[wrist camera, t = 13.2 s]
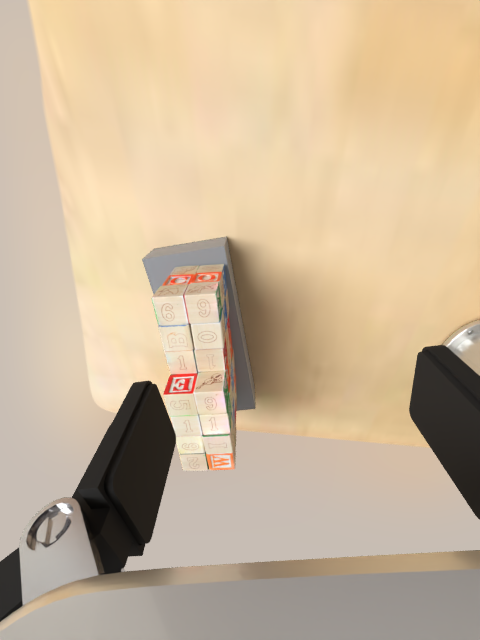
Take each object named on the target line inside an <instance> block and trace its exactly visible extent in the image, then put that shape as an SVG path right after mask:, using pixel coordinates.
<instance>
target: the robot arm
mask: <svg viewBox="0 0 480 640" xmlns="http://www.w3.org/2000/svg"><path fill="white" fill-rule="evenodd" d="M409 411H410V416H411V418H412V420H413V421H414V423H415V424H416V426H417V427H418V429H419V431H420V432H421V434H422V435H423V437H424V438H425V440H426V441H427V443H428V444H429V446H430V447H431V449H432V450H433V452H434V453H435V455H436V456H437V458H438V459H439V461H440V462H441V464H442V465H443V467H444V468H445V470H446V471H447V473H448V474H449V476H450V477H451V479H452V480H453V482H454V483H455V485H456V487H457V488H458V489H459V491H460V492H461V494H462V496H463V497H464V498H465V500H466V501H467V503H468V505H469V506H470V508H471V509H472V511H473V512H474V514H475V515H476V516H477V517H478V519H480V320H476V321H474V322H471V323H469V324H466V325H465V326H463V327H461V328H460V329H458V330H457V331H455V332H454V333H453V334H452V335H451V336H450V337H449V338H448V339H447V340H446V341H445V342H444V343H443V345H438V346H430V347H425V348H423V350H422V352H419V353H418V355H417V362H416V368H415V375H414V381H413V388H412V395H411V401H410V408H409ZM175 444H176V434H175V431H174V428H173V426H172V423H171V421H170V418H169V415H168V413H167V410H166V408H165V405H164V403H163V400H162V398H161V395H160V393H159V390H158V387H157V385H156V384H152V382H151V381H143V382H135V383H133V385H132V386H131V388H130V390H129V392H128V394H127V396H126V398H125V399H124V401H123V403H122V405H121V407H120V409H119V411H118V413H117V415H116V417H115V419H114V420H113V422H112V424H111V425H110V427H109V428H108V430H107V432H106V434H105V436H104V438H103V440H102V441H101V443H100V445H99V447H98V449H97V451H96V453H95V455H94V457H93V459H92V460H91V462H90V464H89V466H88V468H87V470H86V472H85V474H84V476H83V478H82V479H81V481H80V483H79V485H78V487H77V489H76V491H75V493H74V494H73V496H72V498H69V497H64V498H61V499H58V500H55V501H53V502H51V503H49V504H48V505H46V506H45V507H44V508H42V509H41V510H40V511H39V512H38V513H37V514H36V515H35V516H34V517H33V518H32V519H31V520H30V522H29V523H28V525H27V526H26V528H25V529H24V531H23V534H22V536H21V538H20V545H19V548H18V549H16V550H15V551H14V552H12V553H11V554H10V555H9V556H7V557H6V558H5V559H3V560H2V561H1V562H0V640H480V550H473V551H454V552H435V553H416V554H396V555H377V556H360V557H341V558H325V559H324V558H323V559H306V560H288V561H271V562H255V563H239V564H223V565H207V566H191V567H175V568H163V569H152V570H139V571H127V572H125V571H124V566H125V564H126V561H127V558H128V556H142V555H143V551H144V547H145V543H149V542H150V540H151V537H152V533H153V529H154V526H155V522H156V518H157V514H158V510H159V506H160V502H161V499H162V495H163V491H164V487H165V483H166V479H167V474H168V471H169V467H170V463H171V459H172V455H173V451H174V447H175Z"/></svg>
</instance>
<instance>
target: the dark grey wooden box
mask: <svg viewBox="0 0 480 640" xmlns="http://www.w3.org/2000/svg"><path fill="white" fill-rule="evenodd" d="M142 261H143V264H144V267H145V270H146V273H147V276H148V279H149V282H150V285H151V288H152V291H153V293H154V294H155V292H156V291H157V290H158V288H159V287H160V286H162V285H163V283H164V282H165V280H166V279H167V277H168V276H169V275H170V274H171V272H172V271H173V269H174V268H175V267H181V266H196V265H199V266H201V265H216V264H224V265H225V275H226V285H227V291H228V302H229V323H230V330H231V339H232V348H233V351H234V363H235V374H236V392H237V410H247V409H255V387H254V381H253V376H252V370H251V365H250V360H249V354H248V349H247V343H246V338H245V333H244V327H243V322H242V316H241V311H240V306H239V300H238V295H237V289H236V284H235V279H234V273H233V268H232V263H231V257H230V252H229V246H228V241H227V237H222V238H216V239H210V240H204V241H198V242H192V243H186V244H180V245H174V246H168V247H162V248H156V249H153V250H152V251H151V252H150V253H149V254H148V255H146V256H145V257H144V258H143V259H142ZM237 410H236V411H237Z"/></svg>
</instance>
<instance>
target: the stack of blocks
mask: <svg viewBox="0 0 480 640" xmlns="http://www.w3.org/2000/svg"><path fill="white" fill-rule="evenodd" d="M152 302H153V306H154V310H155V314H156V318H157V321H158V324H159V332H160V336H161V340H162V344H163V348H164V351H165V357H166V361H167V364H168V368H169V371H170V373H171V375H170V377H169V379H168V383H167V385H166V388H165V391H164V394H163V395H164V399H165V403H166V406H167V410H168V413H169V416H170V418H171V422H172V426H173V428H174V431H175V434H176V443H177V447H178V451H179V453H180V454H179V456H180V460H181V464H182V468H183V470H184V471H200V470H201V471H203V470H204V471H207V470H208V469H209V470H229V469H235V447H236V410H237V392H236V374H235V363H234V351H233V348H232V339H231V330H230V323H229V302H228V291H227V285H226V275H225V265H224V264H216V265H201V266H199V265H196V266H181V267H175V268H174V269H173V271H172V272H171V274H170V275H169V276H168V277H167V279H166V280H165V282H164V283H163V285H162V286H160V287H159V288H158V290H157V291H156V292H155V294H154V295H153V297H152Z"/></svg>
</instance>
